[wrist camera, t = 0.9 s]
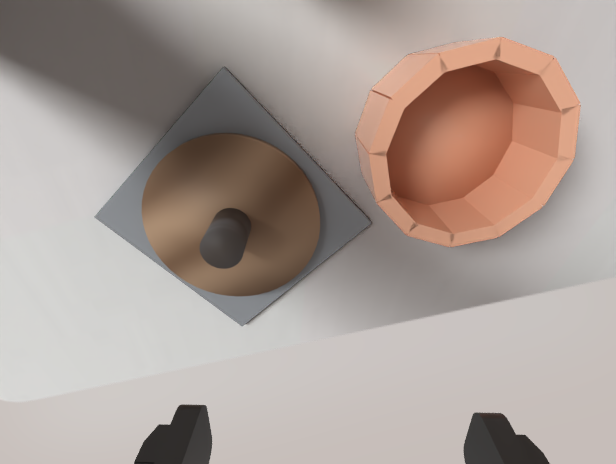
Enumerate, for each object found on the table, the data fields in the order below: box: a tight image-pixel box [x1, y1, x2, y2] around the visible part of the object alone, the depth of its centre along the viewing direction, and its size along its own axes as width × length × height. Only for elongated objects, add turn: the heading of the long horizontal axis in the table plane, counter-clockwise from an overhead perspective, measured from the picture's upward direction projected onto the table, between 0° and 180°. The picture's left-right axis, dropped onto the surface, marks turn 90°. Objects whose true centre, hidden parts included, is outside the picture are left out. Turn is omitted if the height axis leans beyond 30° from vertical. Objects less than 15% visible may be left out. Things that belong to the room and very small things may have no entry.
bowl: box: [355, 37, 581, 247], centre depth 23 cm, size 12×12×6 cm
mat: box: [95, 67, 371, 326], centre depth 28 cm, size 16×16×1 cm
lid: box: [142, 133, 320, 296], centre depth 26 cm, size 14×14×5 cm
